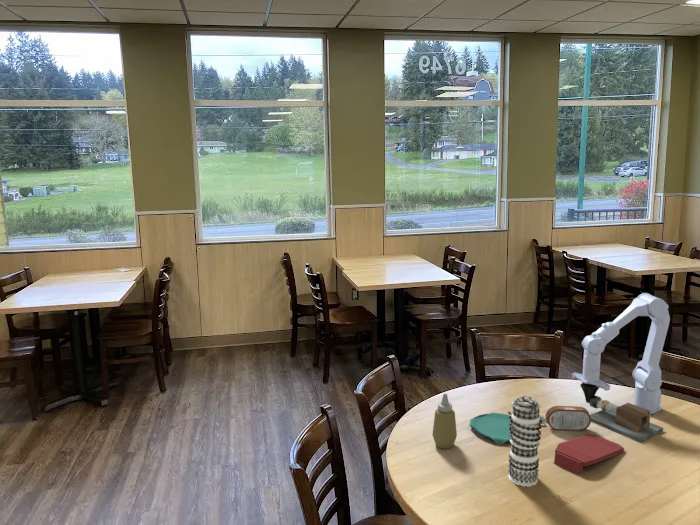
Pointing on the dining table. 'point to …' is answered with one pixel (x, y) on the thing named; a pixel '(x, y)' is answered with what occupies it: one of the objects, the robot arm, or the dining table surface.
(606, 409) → the shaft
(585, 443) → the red bent panel
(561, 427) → the tin
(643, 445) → the dining table surface
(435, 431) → the squeeze bottle
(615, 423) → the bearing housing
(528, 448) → the decorative candle
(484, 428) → the green flat slab
